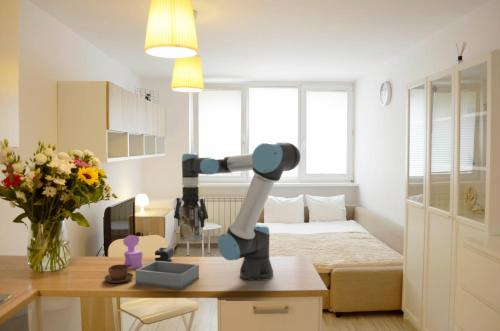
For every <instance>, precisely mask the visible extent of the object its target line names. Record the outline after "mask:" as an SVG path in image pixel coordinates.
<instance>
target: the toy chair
mask: <svg viewBox="0 0 500 331" xmlns="http://www.w3.org/2000/svg"><path fill="white" fill-rule="evenodd" d="M139 242H140V238H139V236H137V235H134V234H130V235H127V236H126V237H124V238H123V240H122V243H123V244H124V246H125V247H127V250H125V251H123V252H124V253H123V254H124V258H125V260H124V263H123V265H127V266H130V268H129V270H136V269H139V268H141V267H143V264H142V259H143V251H140V250H139V249H135V247H137V246H138V244H139Z"/></svg>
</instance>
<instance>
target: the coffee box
mask: <svg viewBox="0 0 500 331" xmlns="http://www.w3.org/2000/svg"><path fill="white" fill-rule="evenodd" d="M179 210H180V212H179V214H180V228H179V234H180V235H179V237H180V238H179V239H180V240H179V241H181V242H190V243H198V242H200V241H203V234H201V235H199V221H200V218H199V216H198V210H201V212H202V209H201V205H199V207H193V206H186V207H183V205H181V207H179Z"/></svg>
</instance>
